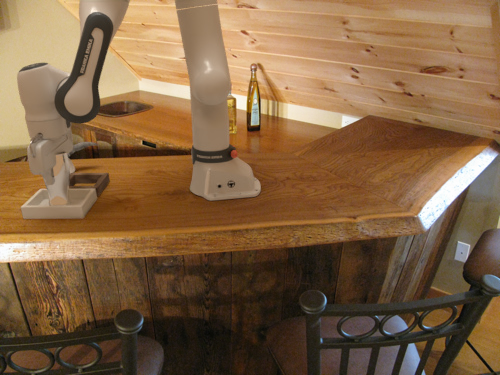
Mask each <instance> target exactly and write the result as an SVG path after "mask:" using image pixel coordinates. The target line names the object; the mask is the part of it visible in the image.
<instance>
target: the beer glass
mask: <svg viewBox="0 0 500 375" xmlns="http://www.w3.org/2000/svg"><path fill="white" fill-rule="evenodd" d="M68 158H69V157H68V156H67V152H66V151H64V153H63V154H56V165H55V166H54V167H53V168H52V169H51V175H52V177H54V179H55V183H54V184H53V185H47V184H46V181H45V179H44V178H43V177H42V179H43V182H44V185H45V189H47V191H48V196H49V202H48V205H72V202H71V199H70V195H69V182H70V167H69V161H68Z"/></svg>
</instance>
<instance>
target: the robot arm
mask: <svg viewBox="0 0 500 375" xmlns="http://www.w3.org/2000/svg"><path fill="white" fill-rule="evenodd" d="M130 3H131V0H79V5H78V17H79V24H80V25H79V26H80V31H79V32H80V35H79V43H78V48H77V50H76V53H75V58H74V61H73V64H72V69H71V72H69V71H64V70H63V69H60V68H57V67H55V66H53V65H52V64H50V63H48V62H38V63H37V62H36V63H32V64H29V65H26V66H23V67H21V68H20V70H19V71H18V72H17V74H16V79H17V80H16V82H17V89H18V93H19V95H18V96H19V99H20V103H21V105H22V106H23V108H24V113H25V114H24V115H25V116H24V118H25V119H24V120H25V124H26V127H27V128H26V129H27V132H28V136H29V138H30V142H29V144H28V146H27V147H26V148H27V149H26V154H27V160H28V162H27V163H28V167H29V171H30V173H31V174H32V175H35V176H36V175H41V177H42V179H43V178H44V179H45V181H46V184H47V185H53V184H54V183H55V179H54V177H52V175H51V169H52V168H53V167H54V166H55V165H56V154H63V153H64V151H66V152H67V154H68V153H70V152H71V151H72V150H73V145H74V137H73V133H72V129H71V127H72V124H87V123H89V122H91V121H93V120H94V119H95V118H96V117H97V116H98V114H99V113H100V111H101V97H100V92H99V85H100V80H101V75H102V72H103V68H104V65H105V60H106V57H107V55H108V51H109V48H110V46H111V43H112V41H113V40H114V38H115V36H116V34H117V32H118V30H119V28H120V27H121V24H122V22H123V21H124V19H125V16H126V14H127V11H128V8H129V6H130ZM174 3H175V9H176V15H177V21H178V26H179V32H180V37H181V43H182V48H183V52H184V53H183V54H184V58H185V64H186V67H187V68H186V70H187V74H188V80H189V93H190V94H189V96H190V112H191V113H190V114H191V129H192V130H191V133H192V145H191V162H192V174H191V176H192V178H191V182H190V184H189V185H190V186H189V190H190V192H192V193H193V194H194V195H197V196H199V197H202V198H204V199H205V200H207V201H210V202H211V201H213V202H214V201H222V200H232V199H244V198H254V197H257V196H259V195H260V193H261V191H262V188H261V182H260V181H259V179H258V178H256V177H255V175H254V173H253V169H252V167H251V166H250V165H249V164H248V163H246V162H245V161H243V160H242V159H240V158H239V157H238V151H237V147H236V146H235V144H230V116H229V106H228V104H229V103H228V97H229V95H230V92H231V89H232V81H231V80H232V79H231V75H230V68H229V64H228V58H227V53H226V52H227V51H226V48H225V43H224V38H223V31H222V24H221V17H220V10H219V4H218V0H174ZM67 156H68V155H67ZM44 179H43V180H44Z"/></svg>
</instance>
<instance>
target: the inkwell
mask: <svg viewBox="0 0 500 375" xmlns="http://www.w3.org/2000/svg"><path fill="white" fill-rule="evenodd" d="M92 146H99V143H95V142H93V141H81V142H78V143H75V144H73V150H72V151H71V152H70V153H68V154H67V155H68V161H69V167H70V174H71V173H76V172H75V171H76V170H77V169H76V167H75V165H74V163H73V161H72V159H71V158H70V157H71V155H73V154H74V153H75V152H79V151H81V150H83V149H85V148H88V147H92Z"/></svg>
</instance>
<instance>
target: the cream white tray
mask: <svg viewBox="0 0 500 375" xmlns="http://www.w3.org/2000/svg"><path fill="white" fill-rule="evenodd" d="M69 195H70V199H71V202H72V205H48V202H49V196H48V191H47V188H39V190H37V191H36V192H35V193H34V194H33V195H32V196H31V197H30V198H29V199H27V201H26V202H25V203H23V205H21V206H20V211H21V213H22V214H21V215H22V217H23V218H22V219H23V220H30V219H31V220H35V219H36V220H38V219H39V220H41V219H42V220H43V219H44V220H47V219H48V220H49V219H51V220H52V219H53V220H56V219H57V220H58V219H60V220H61V219H62V220H63V219H69V220H70V219H85V217H86V216H87V214H88V213H89V212H90V210H91V209H92V207H93V206H94V204H95V203H96V202H97V200H98V197H97V195H96V189H95V188H85V189H69Z"/></svg>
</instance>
